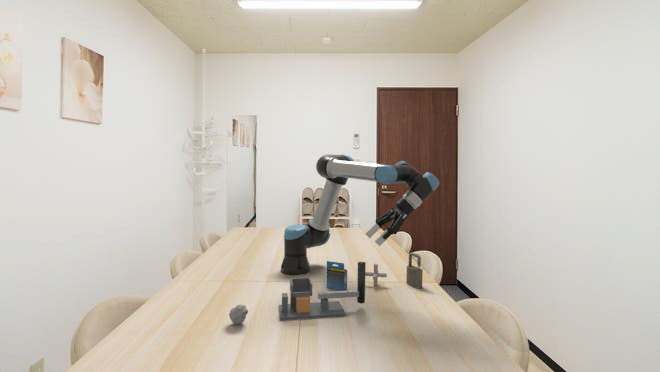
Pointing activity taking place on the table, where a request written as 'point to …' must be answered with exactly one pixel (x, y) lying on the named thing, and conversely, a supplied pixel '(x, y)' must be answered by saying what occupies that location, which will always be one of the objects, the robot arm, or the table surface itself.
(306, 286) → the frame
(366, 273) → the pipe connector
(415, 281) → the padlock
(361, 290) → the rod with black post
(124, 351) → the table surface
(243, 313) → the grey lumpy piece
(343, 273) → the label tape cartridge
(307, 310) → the block
